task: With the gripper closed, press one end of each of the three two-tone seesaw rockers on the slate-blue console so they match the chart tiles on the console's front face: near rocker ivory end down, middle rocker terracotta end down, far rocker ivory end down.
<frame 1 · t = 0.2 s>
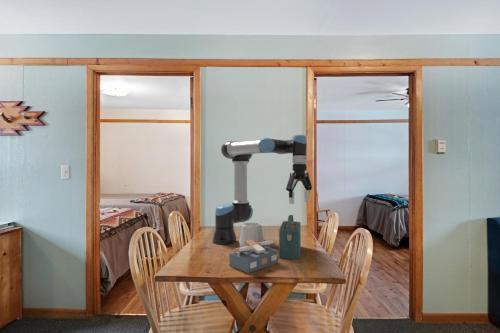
hand: (299, 202, 146), 28 cm above the table, fingers open, 13 cm apart
rocker mid: (254, 247, 130), point 8 cm above the table, hinge at 17.0°
radio: (290, 252, 150), on the table
rocker far: (263, 244, 135), point 8 cm above the table, hinge at -17.0°
console: (253, 264, 130), on the table
vase: (251, 251, 151), on the table
rocker near: (243, 249, 126), point 8 cm above the table, hinge at -17.0°
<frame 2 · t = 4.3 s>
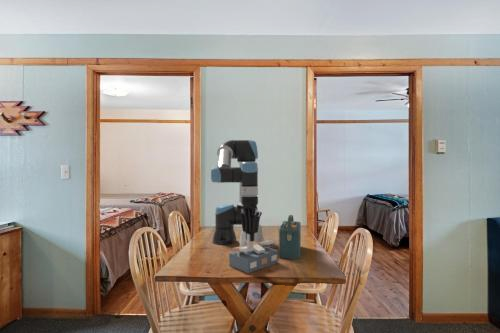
hand: (250, 247, 122), 10 cm above the table, fingers closed
rocker near: (243, 249, 125), point 8 cm above the table, hinge at -10.8°, touching gripper
everything else where it was.
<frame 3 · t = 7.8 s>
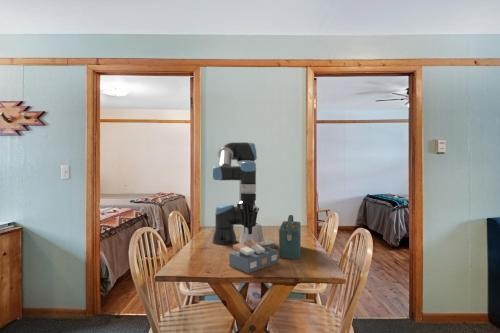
hand: (248, 240, 133), 11 cm above the table, fingers closed
rocker mid: (254, 247, 130), point 8 cm above the table, hinge at 16.8°, touching gripper
rocker near: (243, 249, 125), point 8 cm above the table, hinge at 7.7°
everything else where it was.
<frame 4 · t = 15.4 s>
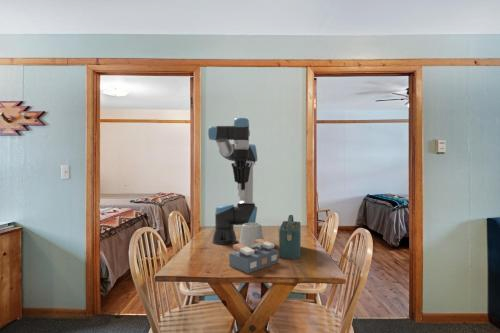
hand: (241, 196, 134), 32 cm above the table, fingers closed
rocker mid: (253, 247, 130), point 8 cm above the table, hinge at -23.6°, touching console
rocker far: (263, 244, 135), point 8 cm above the table, hinge at 6.1°
everything else where it was.
at the end: rocker near at +8° (first picture: -17°); rocker mid at -24° (first picture: +17°); rocker far at +6° (first picture: -17°) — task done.
